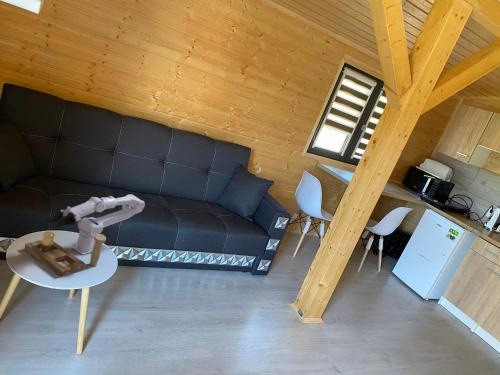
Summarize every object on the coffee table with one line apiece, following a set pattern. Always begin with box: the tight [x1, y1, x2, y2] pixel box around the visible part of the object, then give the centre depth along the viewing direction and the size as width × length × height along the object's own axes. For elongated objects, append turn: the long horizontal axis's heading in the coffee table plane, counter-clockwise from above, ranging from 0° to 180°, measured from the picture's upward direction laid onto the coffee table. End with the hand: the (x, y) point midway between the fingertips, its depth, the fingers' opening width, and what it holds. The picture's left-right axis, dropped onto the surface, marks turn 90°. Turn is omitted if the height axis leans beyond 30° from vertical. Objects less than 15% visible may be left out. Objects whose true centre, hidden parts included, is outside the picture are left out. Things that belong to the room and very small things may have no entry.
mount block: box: [24, 239, 86, 278], centre depth 174 cm, size 12×26×3 cm, turn 62°
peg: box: [40, 231, 55, 252], centre depth 176 cm, size 4×4×10 cm
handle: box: [89, 233, 107, 267], centre depth 179 cm, size 5×6×15 cm
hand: (52, 222), depth 168 cm, fingers open, 7 cm apart
